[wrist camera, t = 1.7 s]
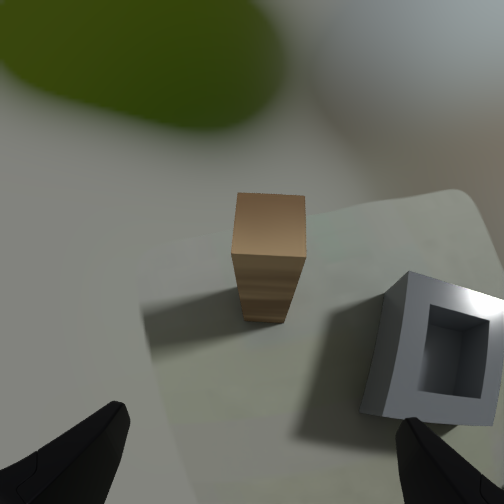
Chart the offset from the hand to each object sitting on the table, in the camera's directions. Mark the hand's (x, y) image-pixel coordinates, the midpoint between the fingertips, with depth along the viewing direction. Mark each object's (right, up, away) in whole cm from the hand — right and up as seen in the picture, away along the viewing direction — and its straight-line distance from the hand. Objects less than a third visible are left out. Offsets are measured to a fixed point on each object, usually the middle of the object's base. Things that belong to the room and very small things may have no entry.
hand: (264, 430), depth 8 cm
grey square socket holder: (+14, -4, +13) cm, 19 cm away
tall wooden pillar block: (+1, +1, +16) cm, 16 cm away
